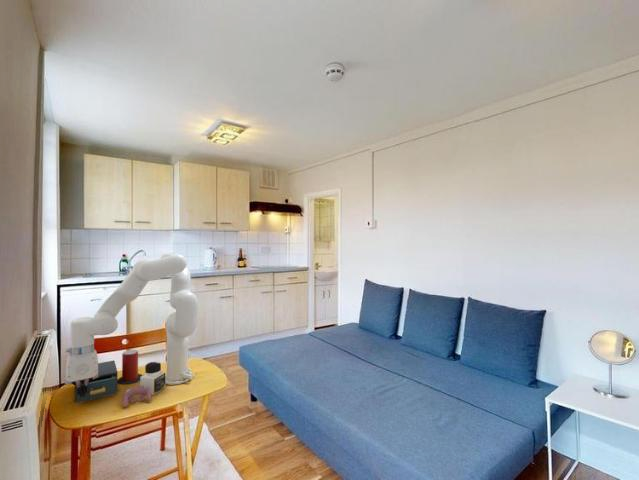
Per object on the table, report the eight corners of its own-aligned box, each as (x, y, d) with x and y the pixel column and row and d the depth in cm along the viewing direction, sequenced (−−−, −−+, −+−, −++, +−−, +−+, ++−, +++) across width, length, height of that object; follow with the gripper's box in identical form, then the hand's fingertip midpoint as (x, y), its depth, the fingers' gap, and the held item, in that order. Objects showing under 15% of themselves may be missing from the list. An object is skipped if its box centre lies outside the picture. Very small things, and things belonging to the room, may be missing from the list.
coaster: (148, 376, 153) (148, 375, 153) (129, 386, 143) (129, 385, 143) (131, 373, 156) (131, 372, 156) (111, 382, 146) (111, 381, 146)
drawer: (117, 397, 131) (117, 381, 131) (76, 408, 123) (76, 390, 123) (113, 380, 146) (113, 366, 146) (76, 389, 138) (77, 373, 138)
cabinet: (117, 391, 138) (117, 371, 138) (74, 401, 129) (75, 380, 129) (114, 378, 151) (114, 360, 151) (75, 386, 142) (75, 367, 142)
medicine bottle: (154, 395, 136) (154, 367, 135) (139, 393, 137) (140, 365, 137) (165, 387, 143) (165, 360, 142) (151, 385, 144) (151, 359, 144)
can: (129, 382, 146) (129, 355, 145) (118, 380, 148) (118, 353, 147) (141, 376, 152) (141, 350, 152) (130, 374, 154) (131, 348, 154)
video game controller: (150, 401, 133) (149, 384, 136) (151, 401, 130) (150, 383, 132) (122, 408, 128) (122, 389, 130) (122, 408, 124) (122, 388, 127)
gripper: (57, 356, 118) (57, 405, 119) (105, 348, 128) (105, 393, 128) (58, 350, 124) (58, 397, 125) (104, 343, 133) (104, 386, 134)
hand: (82, 395), depth 126 cm, fingers closed
